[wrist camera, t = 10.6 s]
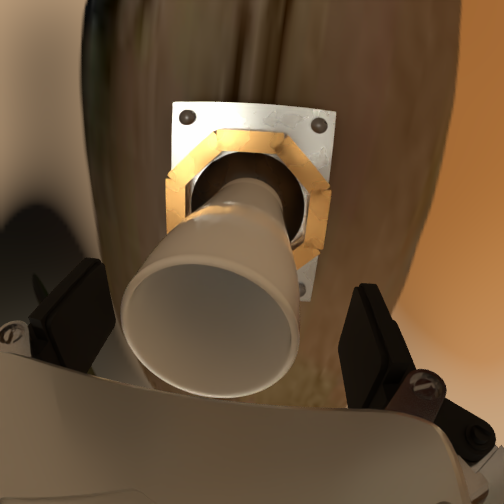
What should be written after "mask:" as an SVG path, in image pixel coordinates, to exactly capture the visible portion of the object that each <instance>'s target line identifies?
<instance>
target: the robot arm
mask: <svg viewBox="0 0 504 504" xmlns="http://www.w3.org/2000/svg"><path fill="white" fill-rule="evenodd" d="M28 318H29V320H30V324H29V325H27V324H26V323H25V322H22V321H11V322H9V323H6V324H5V325H3V326H2V327H1V328H0V504H504V448H503V446H502V445H501V446H500V447H499V448H498V447H497V446H496V445H495V441H496V437H495V433H494V430H493V428H492V427H491V426H490V425H489V424H488V423H487V422H485V421H484V420H482V419H480V418H479V417H477V416H475V415H474V414H472V413H470V412H468V411H467V410H465V409H463V408H462V407H460V406H458V405H457V404H455V403H453V402H452V401H450V400H448V399H447V398H445V396H446V391H447V390H446V385H445V383H444V381H443V380H442V379H441V378H440V376H439V375H437V374H436V373H434V372H432V371H429V370H426V369H416V368H415V365H414V363H413V360H412V358H411V355H410V353H409V350H408V348H407V346H406V343H405V341H404V338H403V336H402V334H401V331H400V329H399V327H398V324H397V323H396V321H394V320H392V318H391V315H390V313H389V311H388V308H387V306H386V304H385V302H384V300H383V297H382V295H381V293H380V291H379V289H378V286H377V285H376V284H367V283H361V284H360V285H359V287H355V288H354V291H353V295H352V298H351V302H350V306H349V309H348V313H347V317H346V320H345V324H344V327H343V331H342V334H341V337H340V341H339V345H338V353H339V358H340V363H341V369H342V375H343V380H344V386H345V392H346V398H347V404H348V408H314V407H294V406H277V405H263V404H252V403H242V402H233V401H224V400H216V399H209V398H202V397H195V396H189V395H182V394H176V393H171V392H165V391H160V390H155V389H150V388H144V387H140V386H135V385H130V384H126V383H122V382H117V381H113V380H109V379H105V378H101V377H97V376H93V375H90V374H87V372H88V370H89V368H90V367H91V365H92V363H93V362H94V360H95V358H96V356H97V355H98V353H99V351H100V349H101V348H102V346H103V345H104V343H105V341H106V340H107V338H108V336H109V335H110V333H111V332H112V330H113V328H114V326H115V322H116V319H115V314H114V310H113V305H112V301H111V296H110V291H109V286H108V281H107V275H106V270H105V265H104V264H103V263H101V261H100V260H99V259H95V258H85V259H84V260H82V261H81V263H79V264H78V265H77V266H76V267H75V268H74V269H73V270H72V271H71V272H70V274H68V275H67V276H66V277H65V278H64V279H63V280H62V281H61V282H60V284H59V285H58V286H57V287H56V288H55V289H54V290H53V291H52V292H51V293H50V294H49V295H48V296H47V297H46V298H45V299H44V300H43V301H42V303H41V304H40V305H39V306H38V307H37V308H36V309H35V310H34V311H33V312H32V313H31V315H30V316H29V317H28Z"/></svg>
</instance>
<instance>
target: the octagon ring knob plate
mask: <svg viewBox="0 0 504 504" xmlns="http://www.w3.org/2000/svg"><path fill="white" fill-rule="evenodd" d="M335 120H336V112H334V111H327V110H319V109H311V108H303V107H293V106H282V105H270V104H255V103H234V102H173V116H172V170H171V171H170V172H169V173H168V174H167V175H168V176H169V177H168V178H166V220H167V234H168V233H169V232H170V231H171V230H172V229H173V228H174V227H175V226H176V225H178V224H179V223H180V222H181V221H182V220H183V219H185V218H186V217H187V216H188V215H190V214H191V213H192V212H193V211H195V210H196V209H197V208H199V207H200V206H201V205H202V204H204V203H205V202H206V201H208V200H209V199H210V198H211V197H213V196H214V195H215V194H216V193H217V192H218V191H219V190H220V189H221V188H222V187H223V186H224V185H225V184H227V183H228V182H230V181H232V180H235V179H239V178H255V179H258V180H261V181H263V182H265V183H267V184H268V185H269V186H271V187H272V188H273V189H274V190H275V192H276V193H277V194H278V196H279V198H280V200H281V203H282V206H283V217H284V221H285V225H286V228H287V232H288V236H289V240H290V243H291V247H292V251H293V255H294V259H295V263H296V268H297V274H298V281H299V291H300V301H310V300H311V294H312V289H313V283H314V278H315V272H316V266H317V260H318V255H319V254H320V249H323V246H324V240H325V233H326V227H327V220H328V213H329V206H330V199H331V192H332V190H331V189H330V188H329V187H330V185H329V176H330V167H331V159H332V150H333V140H334V131H335Z"/></svg>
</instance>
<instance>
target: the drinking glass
mask: <svg viewBox="0 0 504 504" xmlns="http://www.w3.org/2000/svg"><path fill="white" fill-rule="evenodd" d="M120 317H121V325H122V329H123V332H124V335H125V338H126V340H127V342H128V344H129V346H130V348H131V349H132V351H133V353H134V354H135V355H136V357H137V358H138V359H139V360H140V361H141V362H142V364H143V365H144V366H145V367H146V368H148V369H149V370H150V371H151V372H152V373H153V374H155V375H156V376H157V377H159V378H160V379H162V380H163V381H165V382H167V383H169V384H170V385H172V386H174V387H177V388H179V389H181V390H184V391H187V392H190V393H193V394H197V395H201V396H206V397H215V398H234V397H241V396H247V395H250V394H254V393H257V392H260V391H262V390H264V389H266V388H268V387H270V386H271V385H273V384H274V383H276V382H277V381H278V380H280V379H281V378H282V377H283V376H284V375H285V374H286V373H287V372H288V370H289V369H290V367H291V366H292V364H293V362H294V360H295V358H296V355H297V352H298V348H299V341H300V291H299V281H298V274H297V268H296V263H295V259H294V255H293V251H292V247H291V243H290V240H289V236H288V232H287V228H286V225H285V221H284V217H283V206H282V203H281V200H280V198H279V196H278V194H277V193H276V192H275V190H274V189H273V188H272V187H271V186H269V185H268V184H267V183H265V182H263V181H261V180H258V179H255V178H239V179H235V180H232V181H230V182H228V183H227V184H225V185H224V186H223V187H222V188H221V189H220V190H219V191H218V192H217V193H216V194H215V195H214V196H213V197H211V198H210V199H209V200H208V201H206V202H205V203H204V204H202V205H201V206H200V207H199V208H197V209H196V210H195V211H193V212H192V213H191V214H190V215H188V216H187V217H186V218H185V219H183V220H182V221H181V222H180V223H179V224H178V225H176V226H175V227H174V228H173V229H172V230H171V231H170V232H169V233H168V234H167V235H166V236H165V237H164V238H163V239H162V240H161V241H160V243H159V244H158V245H157V246H156V247H155V248H154V250H153V251H152V252H151V253H150V255H149V256H148V257H147V258H146V260H145V261H144V263H143V264H142V266H141V267H140V268H139V270H138V271H137V273H136V274H135V276H134V277H133V279H132V280H131V281H130V283H129V285H128V286H127V288H126V290H125V292H124V295H123V298H122V302H121V311H120Z"/></svg>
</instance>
